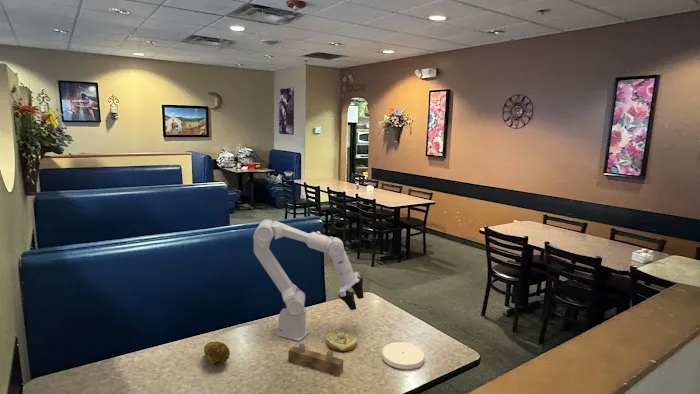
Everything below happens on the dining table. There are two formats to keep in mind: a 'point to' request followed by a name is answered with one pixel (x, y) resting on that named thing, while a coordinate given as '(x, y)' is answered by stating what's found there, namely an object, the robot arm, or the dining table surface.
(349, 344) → the decorated donut
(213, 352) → the potato
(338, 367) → the bar
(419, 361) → the plastic lid
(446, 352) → the dining table surface
